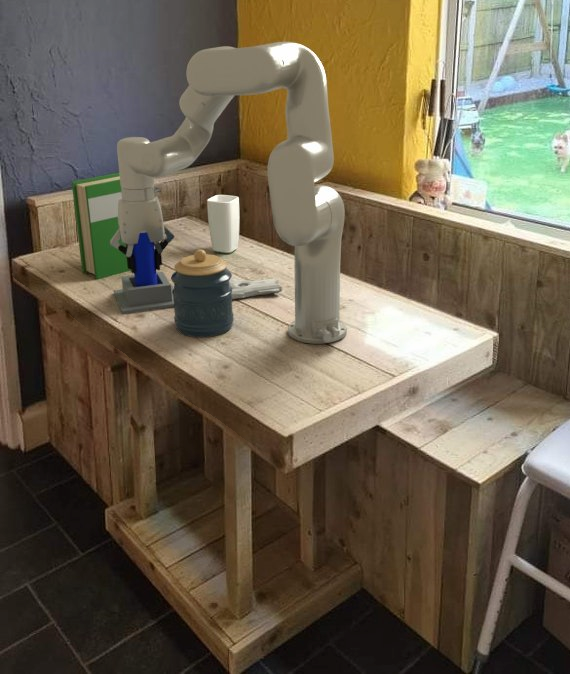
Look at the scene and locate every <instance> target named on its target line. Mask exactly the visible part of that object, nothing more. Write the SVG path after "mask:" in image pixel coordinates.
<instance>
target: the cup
mask: <svg viewBox="0 0 570 674" xmlns="http://www.w3.org/2000/svg"><path fill="white" fill-rule="evenodd" d="M206 204H207V205H206V207H207V208H206V209H207V220H208V230H209V236H210V241H211V242H210V243H211V248H212V251H213V252H215V253H219V252H220V253H221V254H231V253H232V252H235V251H236V250H237V249H238V247H239V237H240V198H239V196H236V195H228V194H216V195H214V196H212V197H210V198H208V199H206ZM220 253H219V254H220Z"/></svg>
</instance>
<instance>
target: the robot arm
mask: <svg viewBox="0 0 570 674" xmlns="http://www.w3.org/2000/svg"><path fill="white" fill-rule="evenodd" d="M185 73H186V80H187V83H188V86H187V88H186V89H185V90H184V91H183V93H182V95H181V96H180V98H179V101H178V103H179V108H180V111H181V112H182V114H183V115H184V116H185V119H184V120H183V121H182V123H181V125H179V127H178V129H177V130H175V132H174V134H173V135H171V136H168V137H164V138H161V139H158V140H155V141H150V140H149V139H148V138H146V137H144V136H143V137H142V136H140V137H139V136H130V137H124V138H121V139H120V140H118V141H117V145H116V153H117V161H118V171H119V172H118V173H119V174H120V184H121V194H122V199H120V200H119V202H118V231H117V232H116V233H115V235H114V236H113V238H112V239H111V241H110V244H111V245H112V246H114V247H115V248H117V249H118V250H120V251H121V252H122V253H124V254H125V255H126V257H127V266H128V269H130V270H131V274H134V273H135V263H134V256H133V255H132V250H133V245H134V244H137V243H138V239H139V234H140V232H142V231H146V232H147V233H148V236H149V239H150V242H154V249H155V261H156V271H160V270H161V266H163V261H162V260H163V257H162V254H163V251H164V250H165V249H166V247H168V245H169V243H171V242H172V241H173V240H174V238H175V235H174V233H172V232H171V230H170V229H168V227H166V225H164V219H163V218H164V217H163V212H162V207H161V204H160V199H159V197H158V196H157V194H160V193H162V186H157V185H155V179H156V178H161V177H165V176H168V175H171V174H173V173H176V172H178V171H182V170H184V169H186V168H188V167H189V166H191V165H192V164H193V163H194V162H195V161H196V160H197V159H198V157H199V156H200V155H201V153H202V152H203V151H204V149H205V148H206V147H207V145H208V144H209V142H210V141H211V138H212V135H213V132H214V124H215V122H216V121H217V119H219V117H220V115H222V113H223V111H224V110H225V109H226V108H227V106H228V105H229V104H230V102H231V100H233V98H235V96H251V95H252V96H253V95H261V94H266V93H269V92H273V91H277V90H281V89H285V90H286V92H287V96H286V102H285V115H284V116H285V121H286V123H285V124H286V130H287V135H286V136H287V139H285V140H283V141H282V142H280V143H278V144H277V145H276V146H275V147H274V148H273V149H272V151H271V153H270V155H269V158H268V162H267V181H268V189H269V196H270V205H271V211H272V213H271V214H272V221H273V224H274V229H275V231H276V233H277V235H278V236H279V238H280V239H281V240H282V241H283V242H285V243H286V244H288V245H289V246H291V247H292V246H293V247H294V267H293V268H294V321H292V322H291V323H290V324H288V325H287V334H288V336H289V337H291V339H294V340H295V341H297V342H299V343H300V342H301V343H303V344H304V343H306V344H314V345H318V344H319V345H320V344H329V343H333V342H337V341H339V340H341V339H343V338H344V337H346V334H347V329H348V328H347V325H346V324H345V323H344V322H342V321H341V320H340V309H341V308H340V305H341V302H340V300H341V299H340V298H341V295H340V292H341V255H342V254H341V250H342V238H343V229H344V224H345V216H346V215H345V213H346V211H345V204H344V201H343V198H342V197H341V195H340V194H339V193H338V191H336V190H335V189H334V188H333V187H330V186H328V185H315V183H316V182H318V181H321V180H322V179H323V178H325V177H326V176H328V174H330V172H331V171H332V169H333V166H334V163H335V161H334V160H335V159H334V157H335V153H334V146H333V136H332V127H331V126H332V125H331V117H330V111H329V108H330V107H329V97H328V96H329V95H328V83H327V82H328V81H327V75H326V72H325V68H324V66H323V64H322V62H321V61H320V59H319V57H318V56H317V55H316V54H315V53H314V52H313V51H312V50H311V49H310V48H308V47H307V46H305V45H302V44H301V43H297V42H293V41H278V42H271V43H266V44H260V45H259V44H258V45H254V46H246V47H233V46H230V45H229V46H227V45H226V46H225V45H224V46H217V47H211V48H205V49H202V50H198V51H197V52H196V53H194V54H193V55H192V57H191V58H190V60H189V61H188V63H187V66H186V71H185ZM165 235H166V236H165ZM119 239H121V240H122V243H123V244H126V246H125V247H124V246H123V245H122V244H120V243H118V241H119Z"/></svg>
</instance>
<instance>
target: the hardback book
mask: <svg viewBox="0 0 570 674" xmlns="http://www.w3.org/2000/svg"><path fill="white" fill-rule="evenodd" d="M71 188H72V189H71V190H72V199H73V205H74V215H75V221H76V222H75V224H76V229H77V237H78V238H77V239H78V246H79V255H80V262H81V263H80V264H81V271H82V274H89V273H91V274H92V275H94V278H95V280H97V281H99V280H101V279H105V278H109V277H113V276H116V275H120V274H123V273H128V272H130V271H131V270H130V269H128V266H127V257H126V255H125V254H124V253H122V252H121V251H120V250H118V249H117V248H115V247H114V246H112V245H111V244H110V241H111V239H112V238H113V236H114V235H115V233H116V232H117V231H118V202H119V200H120V199H122V194H121V184H120V174H119V172H115V173H111V174H104V175H101V176H94V177H90V178H84V179H79V180H74V181H71ZM118 243H120V244H122V245H123V246H124V247H125V246H126V244H123V243H122V240H121V239H119V241H118Z"/></svg>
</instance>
